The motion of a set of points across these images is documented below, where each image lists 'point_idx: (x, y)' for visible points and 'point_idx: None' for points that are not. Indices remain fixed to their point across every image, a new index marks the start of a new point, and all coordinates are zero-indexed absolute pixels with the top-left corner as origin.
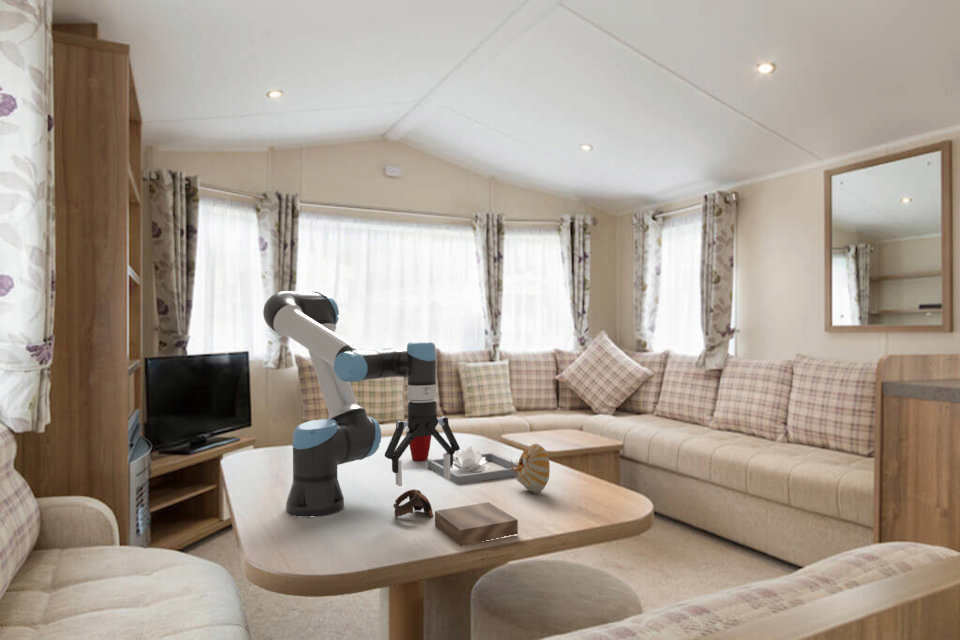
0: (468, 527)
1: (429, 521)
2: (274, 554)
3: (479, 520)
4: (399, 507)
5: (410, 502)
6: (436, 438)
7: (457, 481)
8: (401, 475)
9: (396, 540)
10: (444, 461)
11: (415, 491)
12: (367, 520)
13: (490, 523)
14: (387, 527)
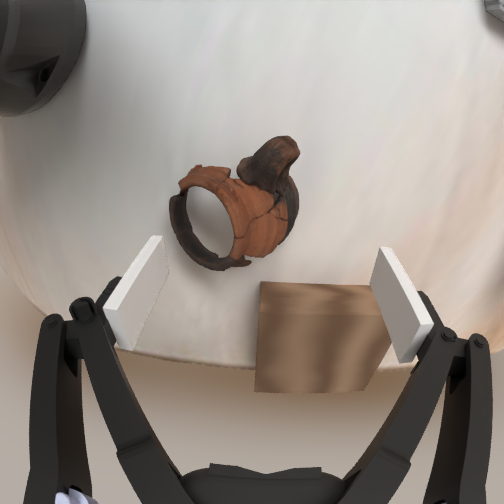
0: (272, 390)
1: None
2: (6, 248)
3: (310, 378)
4: (178, 240)
5: (205, 266)
6: (373, 443)
7: (491, 10)
8: (154, 300)
9: (164, 292)
10: (400, 303)
11: (234, 246)
12: (122, 147)
13: (316, 390)
14: (159, 219)
